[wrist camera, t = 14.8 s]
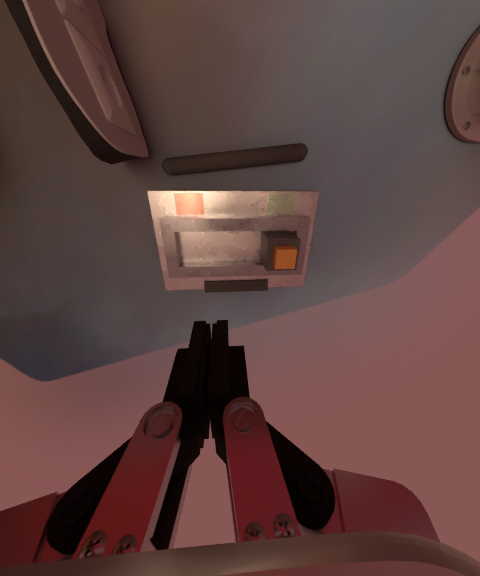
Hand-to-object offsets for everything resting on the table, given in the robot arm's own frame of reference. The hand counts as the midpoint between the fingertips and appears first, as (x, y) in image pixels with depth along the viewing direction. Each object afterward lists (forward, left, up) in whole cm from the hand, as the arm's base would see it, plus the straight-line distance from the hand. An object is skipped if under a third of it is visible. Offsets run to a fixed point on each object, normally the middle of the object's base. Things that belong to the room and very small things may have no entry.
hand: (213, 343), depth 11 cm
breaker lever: (-8, +1, -20) cm, 22 cm away
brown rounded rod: (-2, -10, -22) cm, 24 cm away
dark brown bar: (-2, +7, -22) cm, 23 cm away
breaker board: (-2, +1, -22) cm, 22 cm away
